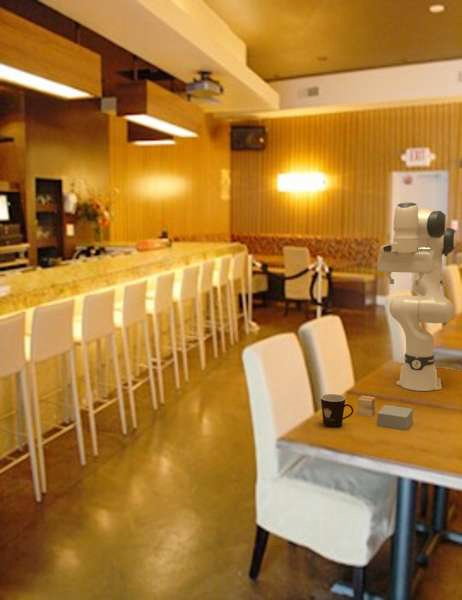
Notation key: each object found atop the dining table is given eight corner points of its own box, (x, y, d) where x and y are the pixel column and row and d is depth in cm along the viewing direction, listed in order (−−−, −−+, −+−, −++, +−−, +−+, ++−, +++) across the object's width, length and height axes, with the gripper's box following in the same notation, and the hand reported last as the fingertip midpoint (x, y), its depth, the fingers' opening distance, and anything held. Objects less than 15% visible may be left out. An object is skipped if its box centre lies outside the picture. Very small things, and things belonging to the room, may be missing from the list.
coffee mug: (315, 423, 214) (315, 395, 213) (336, 419, 218) (336, 392, 216) (333, 433, 204) (334, 405, 202) (355, 429, 207) (355, 401, 206)
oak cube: (361, 411, 227) (362, 395, 226) (374, 412, 225) (375, 397, 224) (357, 414, 223) (358, 399, 222) (371, 416, 220) (371, 401, 219)
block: (384, 418, 219) (384, 404, 219) (412, 422, 215) (413, 408, 214) (377, 426, 211) (377, 413, 210) (406, 431, 206) (406, 417, 205)
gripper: (436, 247, 220) (435, 284, 222) (380, 246, 229) (379, 282, 231) (433, 248, 214) (432, 286, 216) (376, 247, 223) (375, 284, 225)
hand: (404, 284), depth 224 cm, fingers open, 8 cm apart
